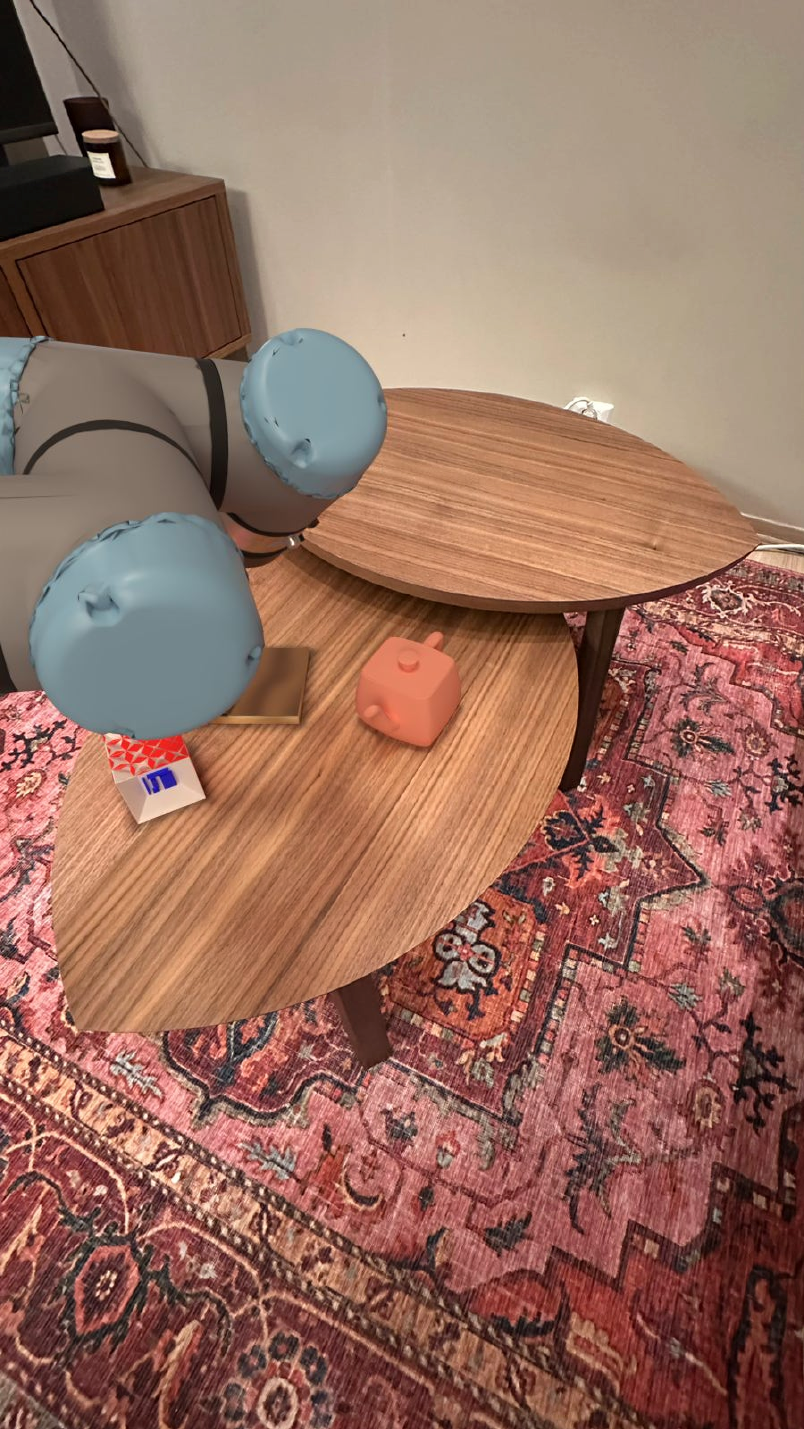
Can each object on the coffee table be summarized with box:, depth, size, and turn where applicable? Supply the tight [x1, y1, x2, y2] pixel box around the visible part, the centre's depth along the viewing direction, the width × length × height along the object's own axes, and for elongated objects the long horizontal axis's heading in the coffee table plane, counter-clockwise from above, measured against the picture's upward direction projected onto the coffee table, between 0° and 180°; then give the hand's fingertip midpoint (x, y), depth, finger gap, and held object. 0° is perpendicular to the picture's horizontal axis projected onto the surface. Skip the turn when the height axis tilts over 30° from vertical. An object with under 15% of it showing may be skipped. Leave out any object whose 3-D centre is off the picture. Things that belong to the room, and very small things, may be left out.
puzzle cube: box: [101, 733, 207, 825], centre depth 78 cm, size 8×8×8 cm
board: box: [207, 646, 311, 725], centre depth 91 cm, size 18×13×1 cm
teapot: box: [355, 631, 462, 748], centre depth 83 cm, size 12×18×10 cm, turn 150°
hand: (199, 575), depth 66 cm, fingers open, 13 cm apart
